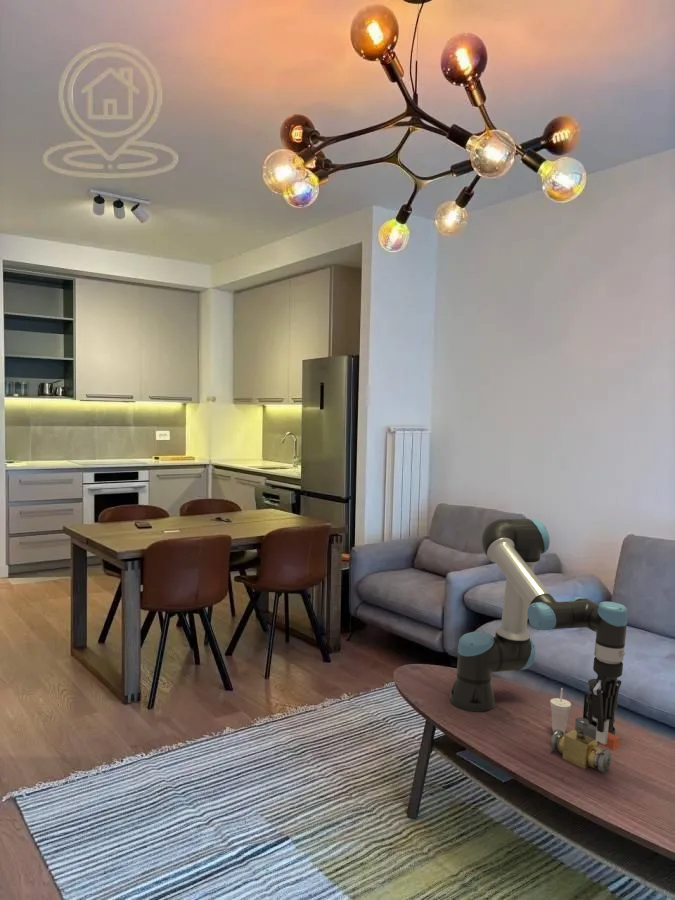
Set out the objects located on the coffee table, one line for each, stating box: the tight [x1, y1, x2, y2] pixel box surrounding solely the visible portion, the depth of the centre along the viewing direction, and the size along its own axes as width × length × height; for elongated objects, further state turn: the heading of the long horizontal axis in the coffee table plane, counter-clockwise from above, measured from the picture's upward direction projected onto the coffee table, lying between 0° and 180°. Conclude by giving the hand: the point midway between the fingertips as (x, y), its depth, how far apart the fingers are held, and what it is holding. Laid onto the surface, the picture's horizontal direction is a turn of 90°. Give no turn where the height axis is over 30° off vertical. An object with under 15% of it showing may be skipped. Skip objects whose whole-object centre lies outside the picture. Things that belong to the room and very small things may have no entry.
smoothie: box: [549, 687, 572, 733], centre depth 213 cm, size 6×6×14 cm
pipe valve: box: [549, 728, 612, 774], centre depth 196 cm, size 16×6×9 cm, turn 42°
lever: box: [574, 717, 621, 751], centre depth 192 cm, size 13×4×3 cm, turn 32°
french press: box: [582, 678, 618, 744], centre depth 212 cm, size 12×9×23 cm
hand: (601, 741), depth 188 cm, fingers closed
